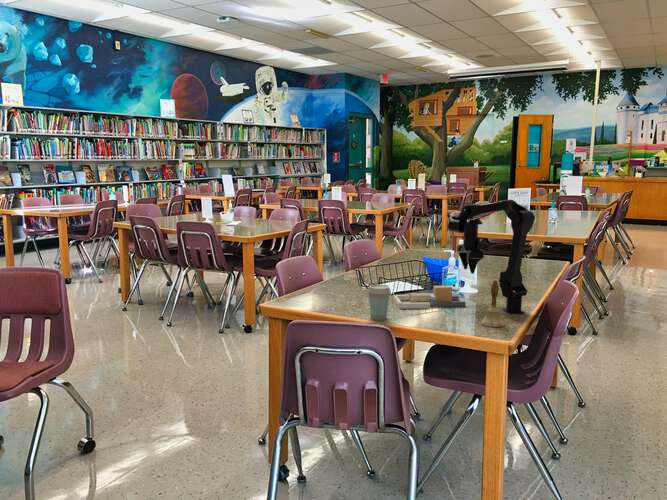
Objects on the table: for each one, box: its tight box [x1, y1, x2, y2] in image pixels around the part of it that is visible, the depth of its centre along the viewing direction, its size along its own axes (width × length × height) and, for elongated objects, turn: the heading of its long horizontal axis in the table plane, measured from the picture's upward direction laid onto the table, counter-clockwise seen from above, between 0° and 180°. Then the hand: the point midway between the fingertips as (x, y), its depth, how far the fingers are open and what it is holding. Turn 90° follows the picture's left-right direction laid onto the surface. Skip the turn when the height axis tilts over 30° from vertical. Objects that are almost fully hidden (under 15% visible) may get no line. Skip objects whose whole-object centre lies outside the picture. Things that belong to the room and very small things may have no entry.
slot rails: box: [429, 295, 467, 308], centre depth 239 cm, size 11×15×2 cm
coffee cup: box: [367, 283, 391, 321], centre depth 216 cm, size 9×8×12 cm
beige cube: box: [418, 292, 431, 303], centre depth 238 cm, size 4×4×4 cm
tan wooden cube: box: [408, 292, 421, 303], centre depth 238 cm, size 4×4×4 cm
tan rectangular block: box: [429, 285, 453, 302], centre depth 239 cm, size 6×9×7 cm
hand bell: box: [480, 279, 505, 328], centre depth 209 cm, size 8×8×16 cm
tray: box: [392, 294, 431, 309], centre depth 238 cm, size 14×12×2 cm
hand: (468, 271), depth 244 cm, fingers open, 9 cm apart
